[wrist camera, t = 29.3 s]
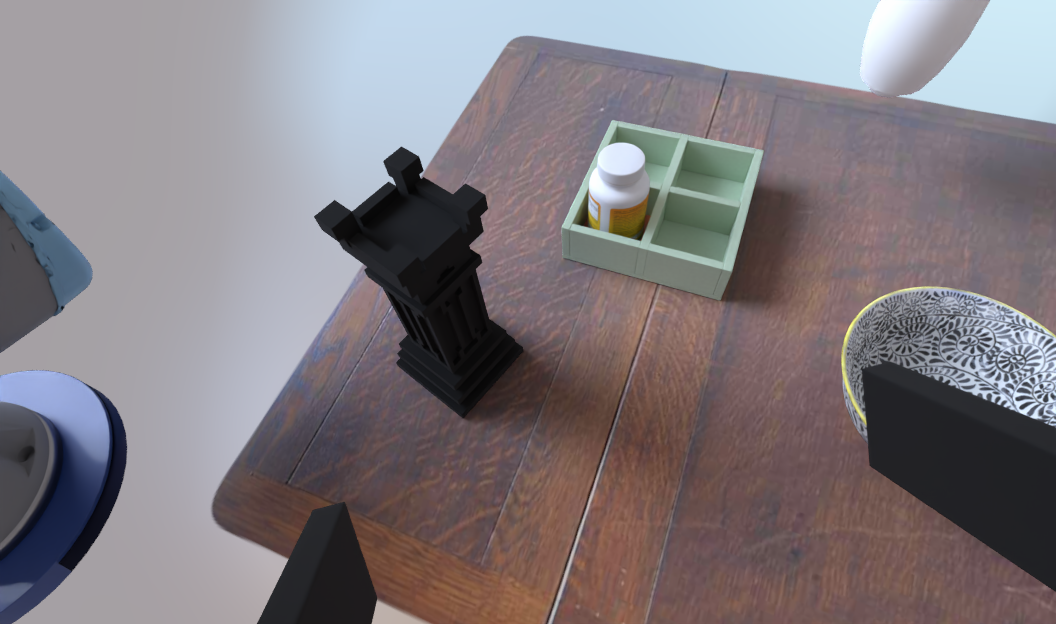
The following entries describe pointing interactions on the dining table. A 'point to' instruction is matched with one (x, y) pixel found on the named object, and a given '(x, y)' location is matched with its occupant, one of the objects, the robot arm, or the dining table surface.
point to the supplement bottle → (619, 191)
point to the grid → (674, 212)
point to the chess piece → (429, 279)
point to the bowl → (954, 349)
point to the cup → (914, 42)
